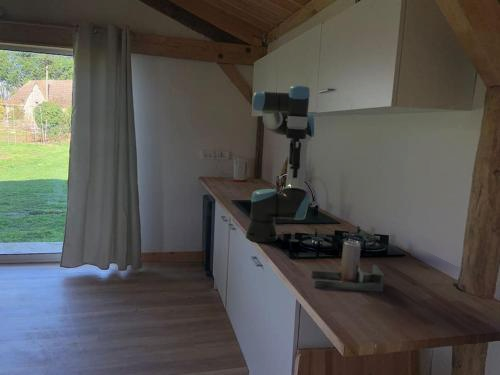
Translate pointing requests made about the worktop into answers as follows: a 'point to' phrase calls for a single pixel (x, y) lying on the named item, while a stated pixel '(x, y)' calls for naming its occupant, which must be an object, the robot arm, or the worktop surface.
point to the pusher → (362, 276)
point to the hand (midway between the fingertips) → (292, 183)
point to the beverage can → (350, 261)
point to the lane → (375, 277)
